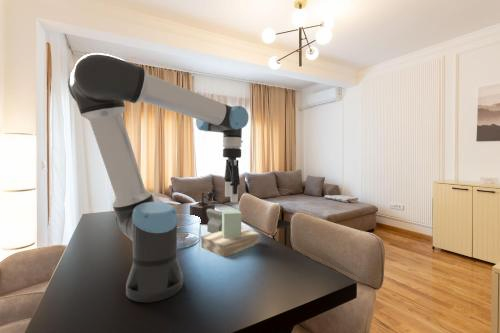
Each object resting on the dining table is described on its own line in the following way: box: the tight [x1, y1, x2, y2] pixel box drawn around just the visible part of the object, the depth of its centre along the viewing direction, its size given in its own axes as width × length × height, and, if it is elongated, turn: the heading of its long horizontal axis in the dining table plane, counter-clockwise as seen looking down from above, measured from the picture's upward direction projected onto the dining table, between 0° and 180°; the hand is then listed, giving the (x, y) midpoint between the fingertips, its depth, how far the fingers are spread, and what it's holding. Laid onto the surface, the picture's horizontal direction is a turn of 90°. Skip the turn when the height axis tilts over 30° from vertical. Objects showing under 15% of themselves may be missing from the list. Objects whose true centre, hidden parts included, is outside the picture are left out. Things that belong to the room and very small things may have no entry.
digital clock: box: [206, 209, 222, 234], centre depth 123 cm, size 16×9×11 cm, turn 36°
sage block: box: [221, 208, 242, 238], centre depth 104 cm, size 7×7×10 cm
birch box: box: [200, 227, 261, 258], centre depth 105 cm, size 14×20×5 cm
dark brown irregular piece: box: [189, 191, 216, 225], centre depth 140 cm, size 16×11×18 cm
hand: (231, 199), depth 104 cm, fingers open, 13 cm apart
